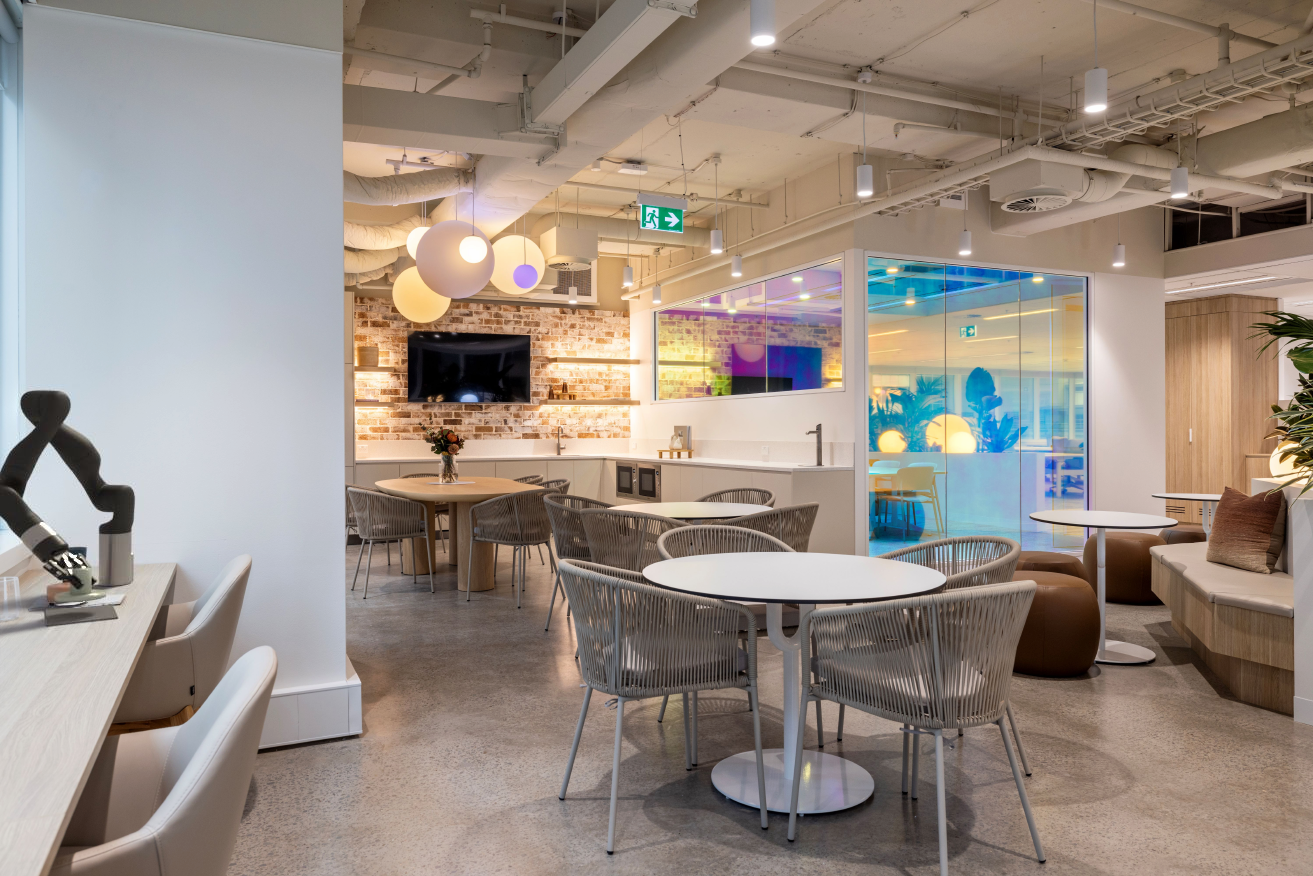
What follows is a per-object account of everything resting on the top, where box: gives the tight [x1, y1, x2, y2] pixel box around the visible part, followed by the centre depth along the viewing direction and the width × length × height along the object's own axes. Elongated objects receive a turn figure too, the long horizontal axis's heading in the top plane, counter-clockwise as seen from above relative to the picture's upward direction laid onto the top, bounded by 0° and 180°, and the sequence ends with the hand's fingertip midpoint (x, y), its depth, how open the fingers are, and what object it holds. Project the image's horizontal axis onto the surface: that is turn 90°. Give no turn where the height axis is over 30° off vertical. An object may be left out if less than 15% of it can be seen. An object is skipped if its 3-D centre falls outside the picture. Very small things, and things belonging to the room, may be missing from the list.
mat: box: [45, 603, 119, 627], centre depth 235 cm, size 22×16×1 cm
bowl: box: [46, 582, 93, 603], centre depth 249 cm, size 11×11×6 cm
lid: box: [54, 566, 107, 602], centre depth 235 cm, size 12×12×8 cm
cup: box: [61, 546, 88, 583], centre depth 259 cm, size 7×7×15 cm
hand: (87, 585), depth 235 cm, fingers closed on lid, 5 cm apart
